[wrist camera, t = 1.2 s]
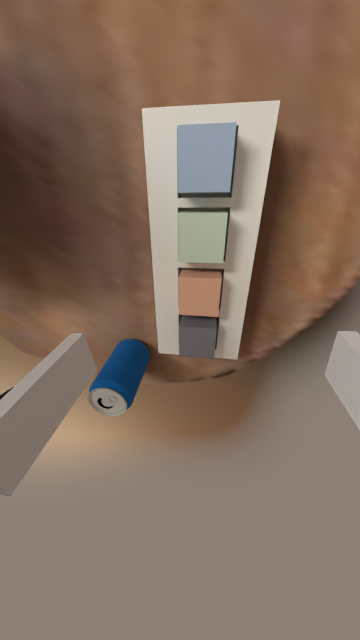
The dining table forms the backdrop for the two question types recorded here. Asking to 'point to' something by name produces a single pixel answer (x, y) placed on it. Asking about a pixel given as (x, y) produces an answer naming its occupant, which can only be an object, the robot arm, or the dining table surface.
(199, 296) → the terracotta key
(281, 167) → the dining table surface
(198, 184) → the slate key
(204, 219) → the sage key
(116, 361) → the beverage can
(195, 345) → the charcoal key
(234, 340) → the keypad
